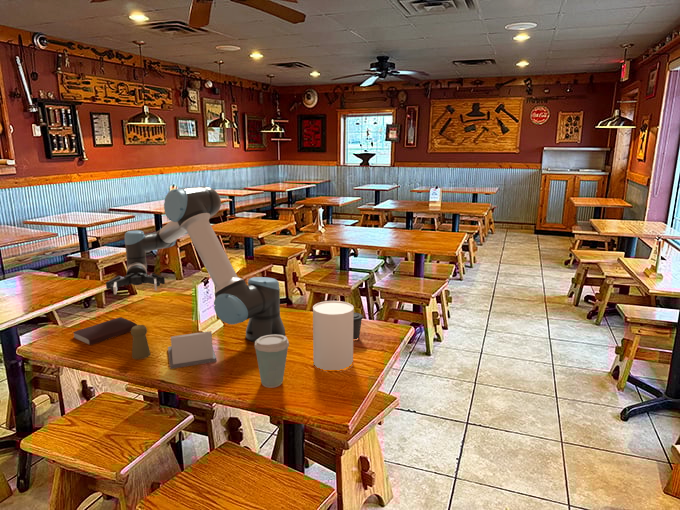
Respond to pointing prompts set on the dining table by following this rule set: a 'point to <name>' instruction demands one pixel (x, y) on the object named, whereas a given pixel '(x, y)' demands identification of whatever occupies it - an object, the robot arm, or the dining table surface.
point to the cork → (140, 342)
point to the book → (104, 330)
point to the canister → (333, 335)
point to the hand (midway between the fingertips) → (135, 288)
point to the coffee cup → (356, 325)
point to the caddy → (191, 350)
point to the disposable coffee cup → (271, 359)
